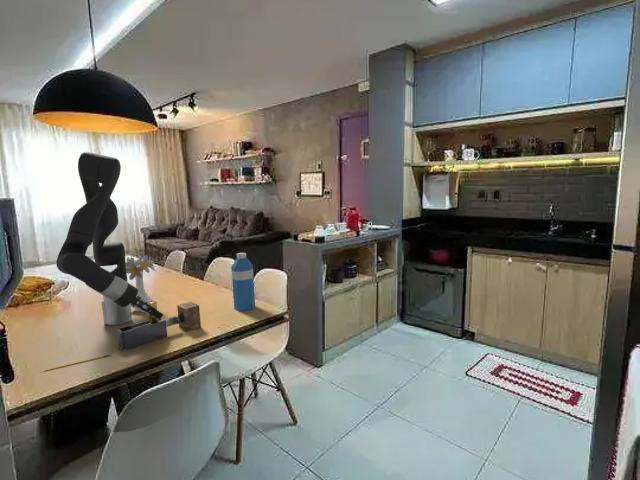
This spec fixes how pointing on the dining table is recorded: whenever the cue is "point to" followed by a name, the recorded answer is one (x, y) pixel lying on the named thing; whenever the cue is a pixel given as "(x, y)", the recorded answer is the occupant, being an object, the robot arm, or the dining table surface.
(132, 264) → the flower vase
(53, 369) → the pencil
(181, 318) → the socket block
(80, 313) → the dining table surface
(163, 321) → the sleeve
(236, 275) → the water bottle
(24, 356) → the dining table surface
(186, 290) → the dining table surface
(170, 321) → the tube
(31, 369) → the dining table surface
